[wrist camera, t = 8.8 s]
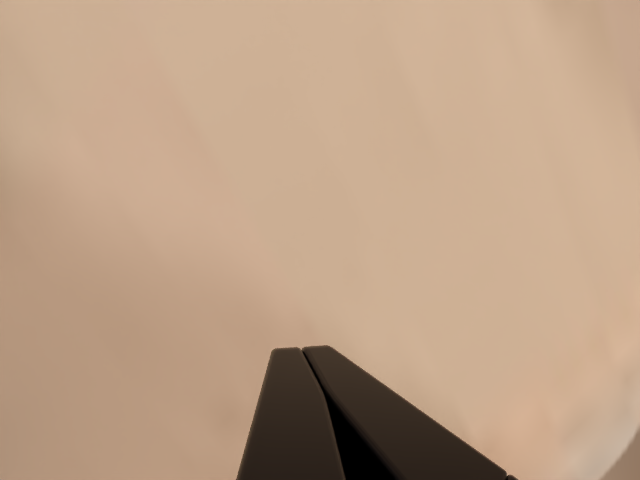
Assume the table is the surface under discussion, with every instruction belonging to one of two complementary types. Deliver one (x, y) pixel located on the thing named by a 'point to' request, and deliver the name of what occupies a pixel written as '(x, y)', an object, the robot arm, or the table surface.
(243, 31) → the table surface
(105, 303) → the table surface
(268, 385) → the robot arm
